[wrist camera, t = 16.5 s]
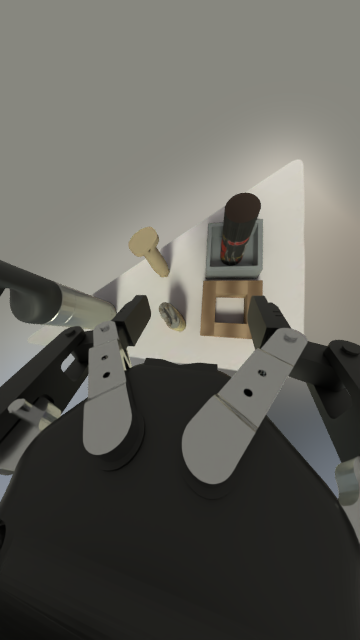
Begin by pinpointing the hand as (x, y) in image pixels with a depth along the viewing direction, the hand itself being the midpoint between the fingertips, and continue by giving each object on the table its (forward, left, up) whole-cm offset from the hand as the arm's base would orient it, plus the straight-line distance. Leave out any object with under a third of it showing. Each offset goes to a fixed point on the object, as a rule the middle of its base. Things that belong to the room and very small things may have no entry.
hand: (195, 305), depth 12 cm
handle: (-13, +17, -29) cm, 36 cm away
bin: (+6, +21, -29) cm, 36 cm away
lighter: (-8, +3, -29) cm, 31 cm away
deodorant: (+6, +21, -28) cm, 36 cm away
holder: (+6, +6, -29) cm, 30 cm away
